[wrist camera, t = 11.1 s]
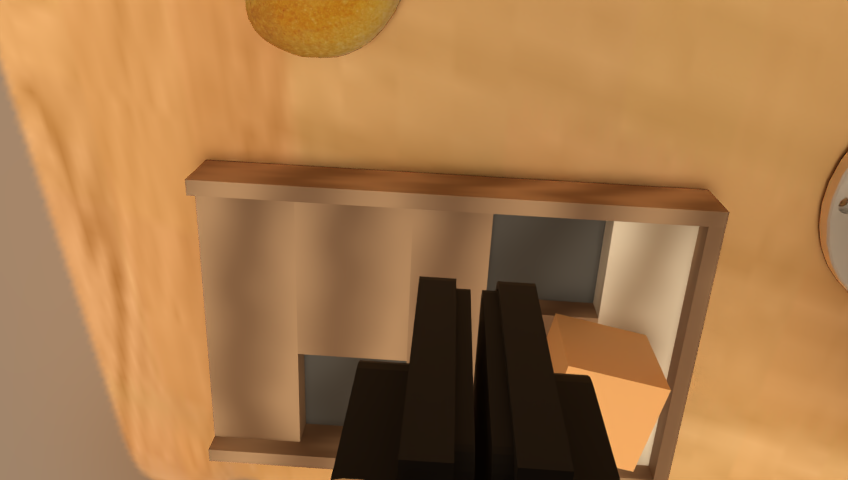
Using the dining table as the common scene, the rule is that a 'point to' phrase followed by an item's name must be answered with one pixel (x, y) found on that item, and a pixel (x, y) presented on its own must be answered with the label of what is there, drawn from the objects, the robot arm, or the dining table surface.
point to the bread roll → (319, 24)
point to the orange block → (613, 379)
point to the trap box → (399, 277)
